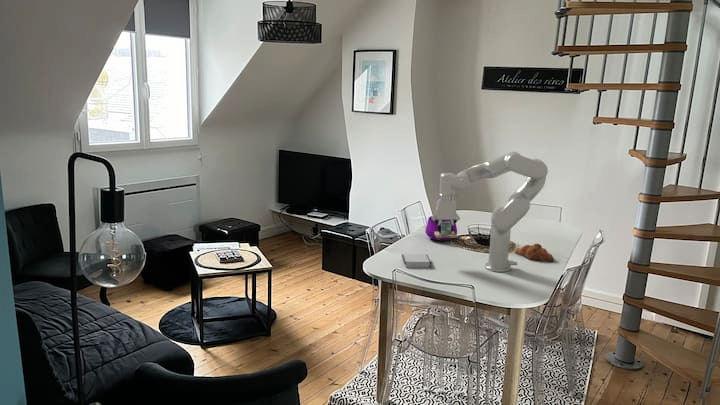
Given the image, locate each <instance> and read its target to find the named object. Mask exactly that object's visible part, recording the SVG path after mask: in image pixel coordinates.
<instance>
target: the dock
mask: <svg viewBox="0 0 720 405" xmlns="http://www.w3.org/2000/svg"><path fill="white" fill-rule="evenodd" d="M401 258H402V261H403V264H404V266H405V268H430V265H432V261H431V259H430V258H429V255H428V254H427V253H426V254H425V253H403V254H402V253H401Z"/></svg>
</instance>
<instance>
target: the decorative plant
mask: <svg viewBox="0 0 720 405" xmlns="http://www.w3.org/2000/svg"><path fill="white" fill-rule="evenodd" d="M438 199H439V196H437V197H436V201H437V200H438ZM432 216H433V215H431V216H429V217H428V218H427V223H426V226H425V232H424V233H425V234H426V236H427V237H428V238H430V239H433V240H434V241H435V240H436V241H443V242H444V241H449V240H452V239H454V238H436V235H434V232H438V231H437V227H438V224H437V223H436V222H435V221H433V220H432V219H431V217H432ZM435 219H436V220H437V221H438V219H437V218H436V217H435ZM454 220H455V219H454ZM441 222H450V220H442V221H441ZM452 232H454V233H455V234H456V236H457V235H458V228H457V222H456V223H455V224H454V225H453V231H452Z"/></svg>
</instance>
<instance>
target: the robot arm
mask: <svg viewBox="0 0 720 405" xmlns="http://www.w3.org/2000/svg"><path fill="white" fill-rule="evenodd" d="M509 172H513V173H516V174H518V175H520V176H524V177H526V179H525V181H524V182H523V183H522V185H520V186H519V188H517V189H516V190H515V191H514V192H513V193H512V194H511V195H510V196H509V198H508V200H507V204H506V205H505V206H498V207H496V208H495V209H494V210H493V212H492V214H491V220H490V222H491V223H490V224H491V225H490V239H489V249H488V250H489V251H488V261H487V262H486V263H484V267H485V269H487V270H488V271H492V272H496V273H505V272H509V271H510V270H511V266H517V265H518V261H514V260H510V259H509V251H510V242H511V231H512V230H511V229H512V228H513V227H515V225H516V224H518V222H520V221H521V219H522V218H524V217H525V216H527V214H528V212H529V210H530V208H531V202H532V201H533V200H534V199H535V198H536V197H537V196H538V194H539V193H540V192H541V191H542V189H543V188H544V186H545V184H546V179H547V175H548V172H549V169H548V166H547V164H546V163H545V162H544V161H543V160H542V159H539V158H534V159H531V158H529V157H526V156H524V155H522V154H520V153H519V152H518V151H511V152H508V153H505V154H503V155H501V156H498V157H496V158H494V159H491V160H488V161H486V162H483V163H479V164H477V165H474V166H472V167H469V168H467V169H464V170H462V171H459V173H457V174H455V173H452V172H442V173H441V174H440V176H439V178H440V179H439V194H438V195H439V199H438V200H437V199H436V203H435V204H436V205H435V206H436V207H435V212H434V214H433V215H431V216H432V217H431V216H430V217H431V219H432V220H433V221H435V222H436V223H437V224H438V227H437V231H438V232H439V233H441V221H442V220H450V223H451V233H452V231H453V225H454V224H455V223H456V224H457V222H459V221H460V220H461V217H460V215H459V214H458V213H457V202H456V199H458V195H456V194H455V192H456V191H455V190H460V191H461V190H462V191H464V190H468V189H469V188H470V187H471V184H472V183H475V182H477V181H480V180H484V179H494V178H497V177H499V176H502V175H504V174H506V173H507V174H508V173H509ZM435 217H436V218H437V219H438V221H437V220H436V219H435ZM454 219H455V220H454Z"/></svg>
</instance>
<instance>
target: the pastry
mask: <svg viewBox="0 0 720 405" xmlns="http://www.w3.org/2000/svg"><path fill="white" fill-rule="evenodd" d="M514 253H515V254H516V255H518V256H520V257H523V258H525V259H526V260H529V261H537V262H538V261H539V262H540V261H541V262H545V263H546V262H548V263H553V262H555V258H554V256H553V254H552V253H549V252H548V251H547V249H546V248H543V247H542V245H541V244H540V243H534V244H532V245H530V244H525V245H523V246H522V247H518V248H516V249H515V250H514Z"/></svg>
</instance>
